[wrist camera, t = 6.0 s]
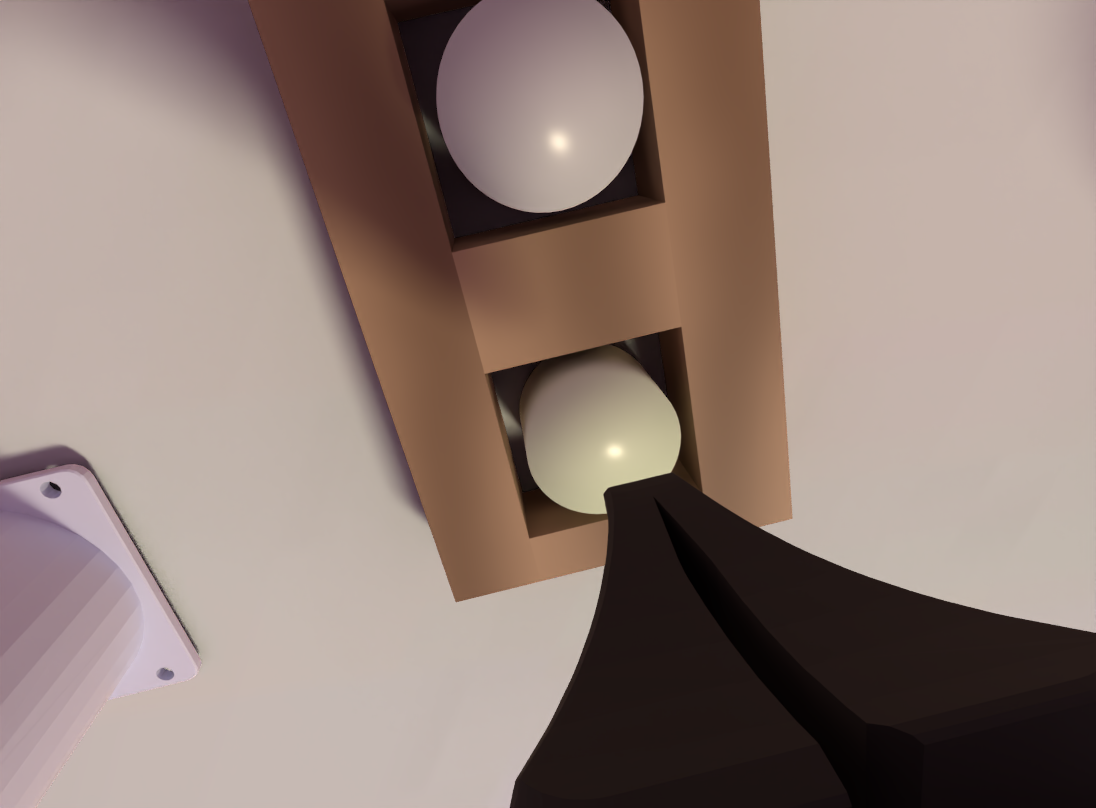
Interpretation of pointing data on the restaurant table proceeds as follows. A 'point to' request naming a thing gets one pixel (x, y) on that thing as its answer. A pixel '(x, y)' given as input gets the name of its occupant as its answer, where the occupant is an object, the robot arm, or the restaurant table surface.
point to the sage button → (595, 426)
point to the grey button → (539, 101)
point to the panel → (550, 271)
